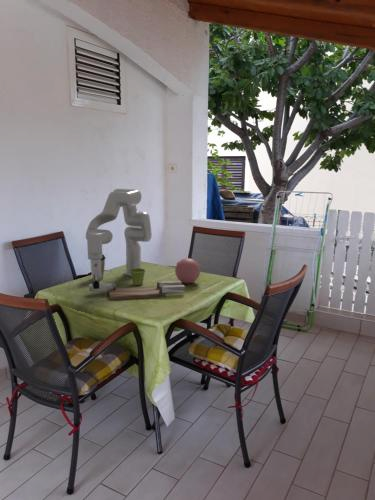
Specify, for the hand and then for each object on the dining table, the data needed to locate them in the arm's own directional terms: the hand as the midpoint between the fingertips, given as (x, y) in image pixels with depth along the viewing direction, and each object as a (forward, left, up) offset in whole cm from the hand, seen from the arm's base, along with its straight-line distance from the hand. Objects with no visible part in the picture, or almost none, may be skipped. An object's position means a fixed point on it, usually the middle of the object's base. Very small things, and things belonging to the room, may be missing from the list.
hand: (96, 288), depth 219 cm
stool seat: (-2, +28, -5) cm, 28 cm away
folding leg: (-6, +3, -3) cm, 8 cm away
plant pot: (-21, +25, -6) cm, 33 cm away
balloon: (-21, +55, -6) cm, 59 cm away
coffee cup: (-36, +2, -6) cm, 36 cm away
